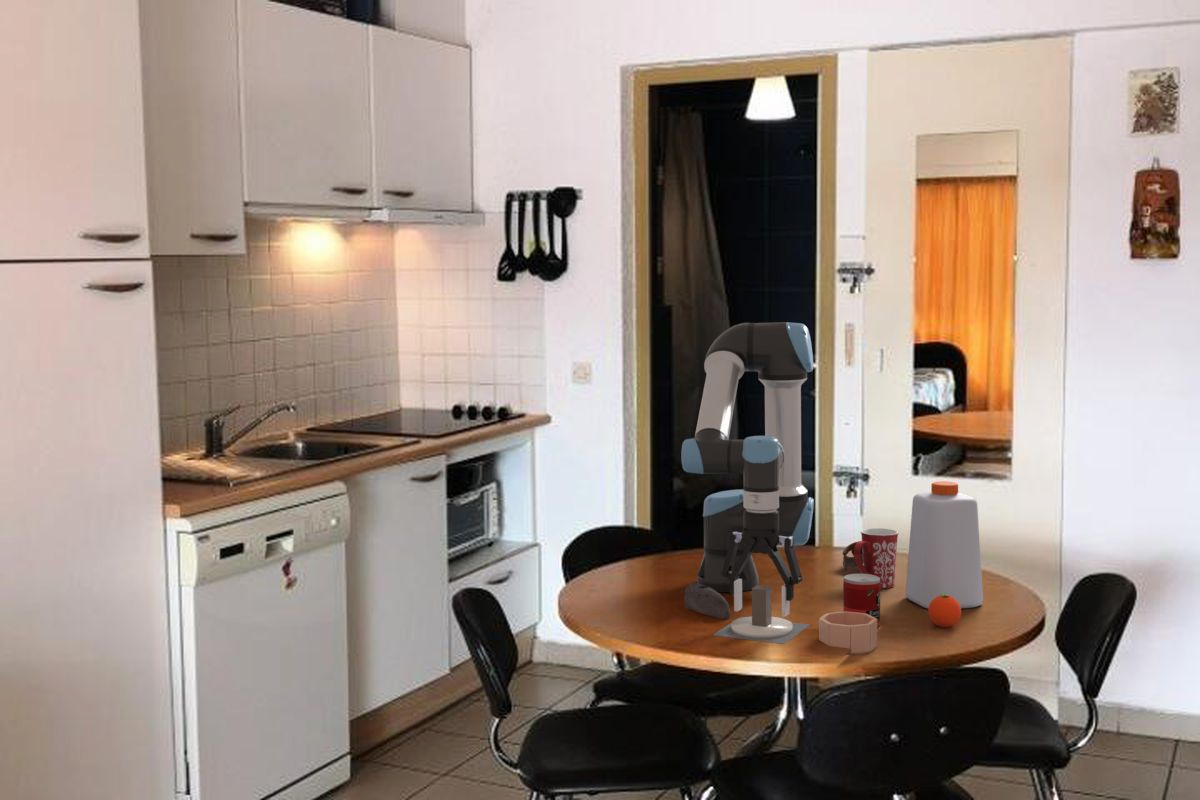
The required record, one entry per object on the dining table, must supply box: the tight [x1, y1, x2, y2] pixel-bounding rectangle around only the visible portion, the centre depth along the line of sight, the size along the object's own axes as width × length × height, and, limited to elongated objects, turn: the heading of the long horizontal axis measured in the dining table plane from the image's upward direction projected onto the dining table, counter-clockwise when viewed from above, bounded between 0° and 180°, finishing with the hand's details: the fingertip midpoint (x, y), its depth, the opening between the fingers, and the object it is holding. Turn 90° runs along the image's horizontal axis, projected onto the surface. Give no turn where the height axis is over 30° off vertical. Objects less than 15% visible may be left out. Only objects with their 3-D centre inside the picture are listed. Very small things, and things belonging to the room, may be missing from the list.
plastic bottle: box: [905, 480, 984, 610], centre depth 317 cm, size 15×15×28 cm
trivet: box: [712, 616, 810, 645], centre depth 293 cm, size 16×16×2 cm
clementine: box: [927, 594, 962, 628], centre depth 299 cm, size 8×7×7 cm
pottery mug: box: [842, 541, 863, 571], centre depth 354 cm, size 12×10×8 cm
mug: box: [853, 527, 899, 590], centre depth 334 cm, size 13×9×14 cm
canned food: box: [842, 573, 881, 630], centre depth 299 cm, size 8×8×11 cm
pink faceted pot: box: [818, 611, 878, 656], centre depth 284 cm, size 11×11×6 cm
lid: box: [730, 584, 793, 638], centre depth 292 cm, size 13×13×9 cm
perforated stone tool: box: [683, 582, 731, 620], centre depth 308 cm, size 15×5×7 cm, turn 28°
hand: (761, 612), depth 293 cm, fingers open, 10 cm apart
